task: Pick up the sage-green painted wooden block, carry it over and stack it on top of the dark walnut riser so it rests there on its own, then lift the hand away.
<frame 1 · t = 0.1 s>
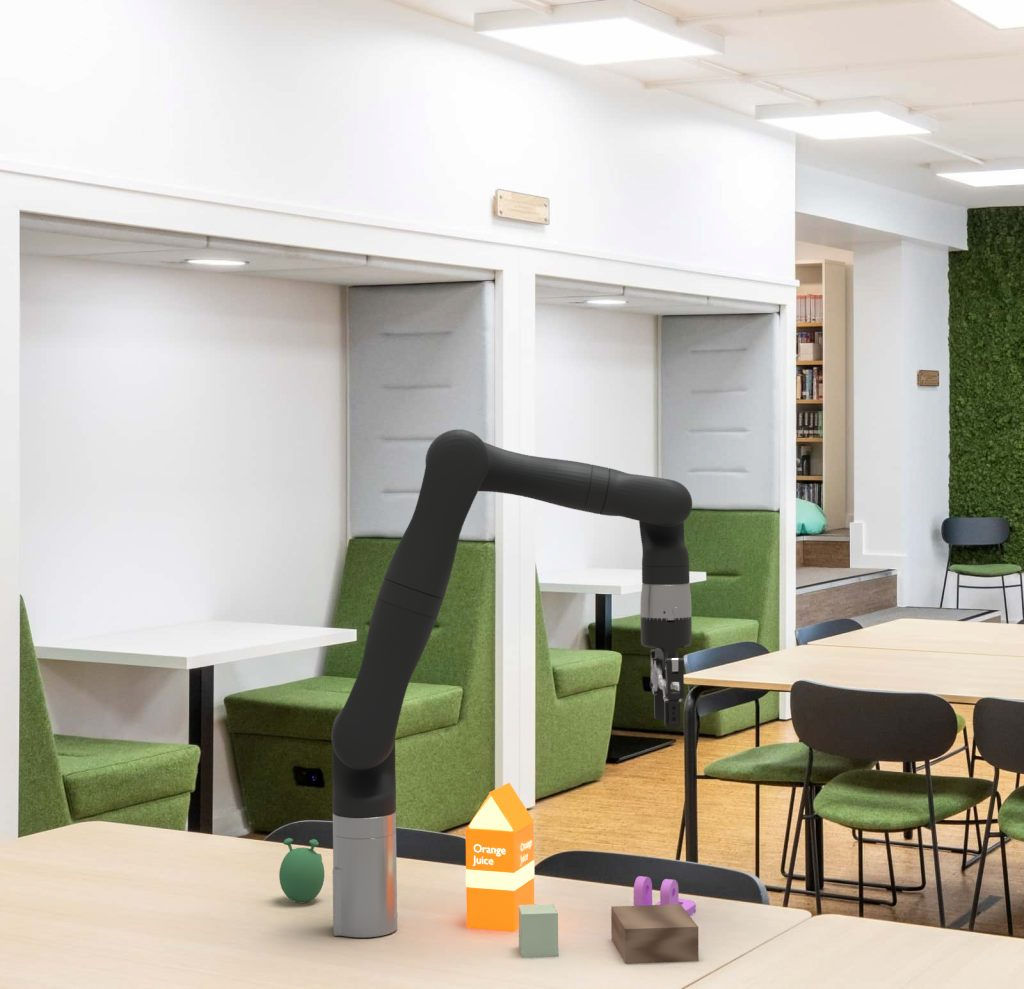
hand: (667, 723, 240), 29 cm above the table, tool pointing down, fingers open, 8 cm apart
orange juice: (501, 923, 240), on the table
walnut riser: (653, 952, 225), on the table
sage block: (538, 952, 225), on the table
bracket: (668, 919, 242), on the table
alien toy: (302, 902, 254), on the table
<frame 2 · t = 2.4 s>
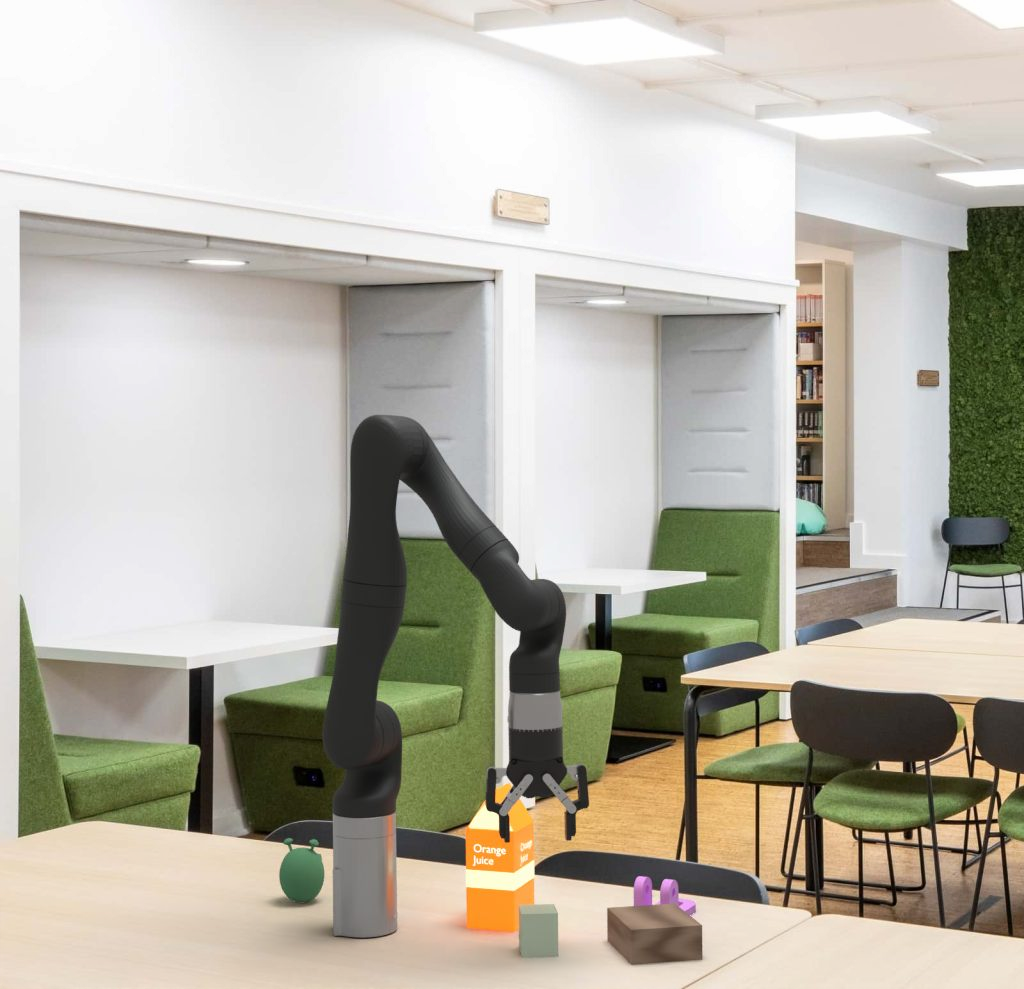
hand: (537, 840, 225), 15 cm above the table, tool pointing down, fingers open, 8 cm apart
nothing on the table moved.
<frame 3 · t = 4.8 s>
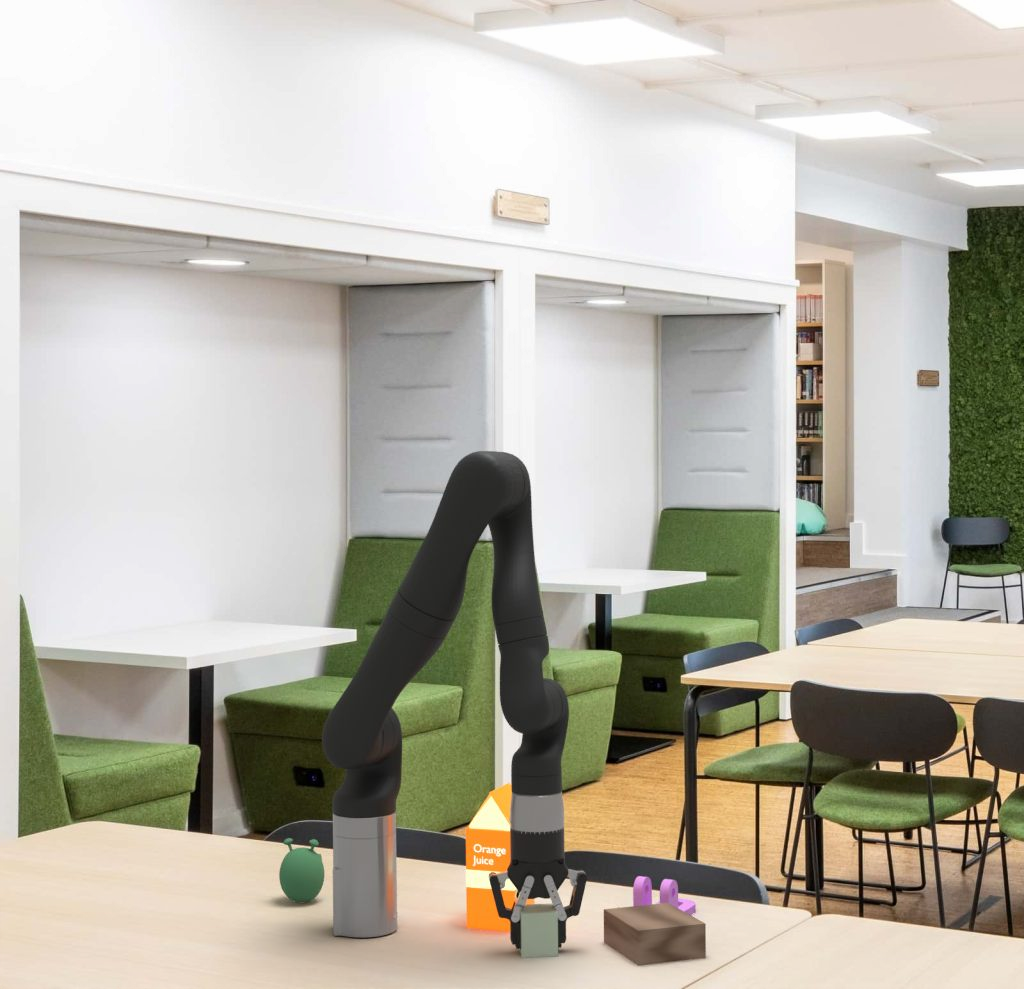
hand: (538, 946, 225), 1 cm above the table, tool pointing down, fingers closed on sage block, 5 cm apart
sage block: (538, 951, 225), on the table, touching gripper
everything else where it was.
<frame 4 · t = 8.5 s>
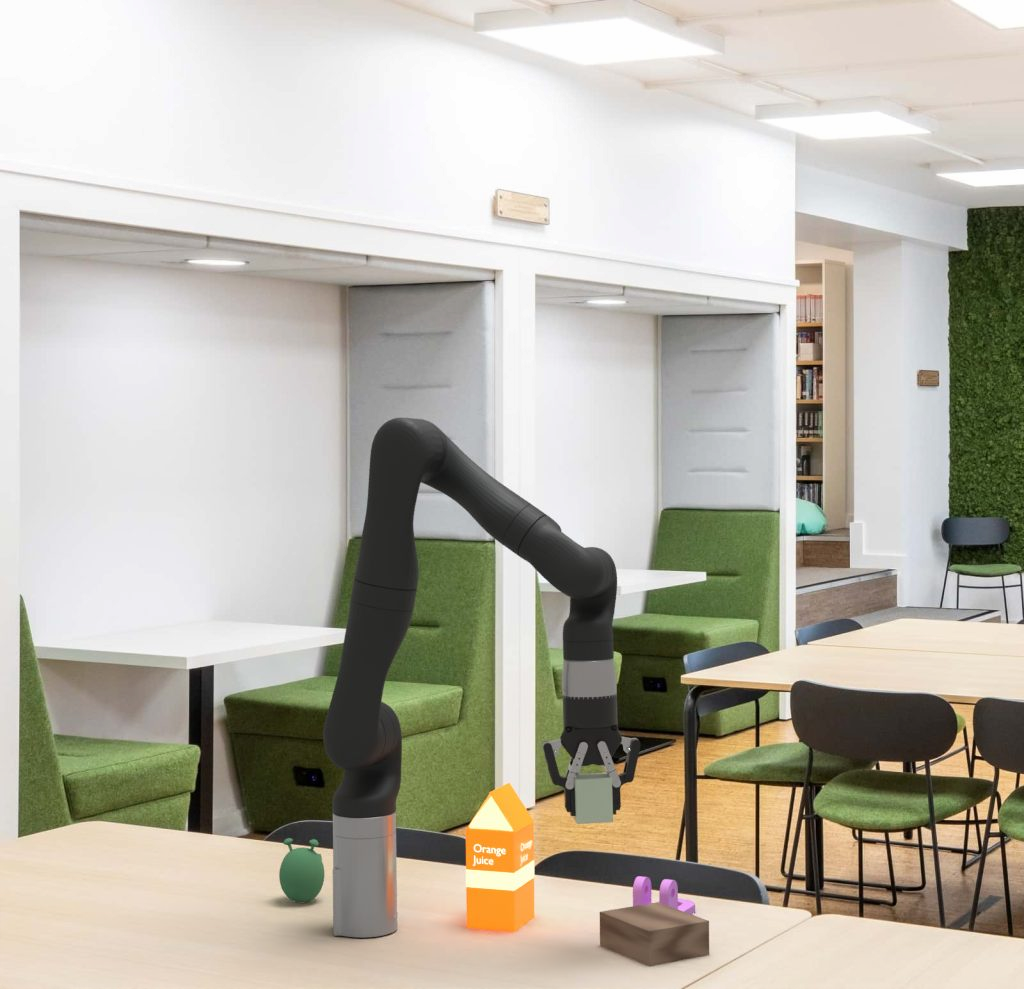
hand: (593, 813, 224), 19 cm above the table, tool pointing down, fingers closed on sage block, 5 cm apart
sage block: (592, 819, 224), point 18 cm above the table, touching gripper
when the fingers open (7 cm above the table, at t = 12.2 s): sage block drops 2 cm, point 5 cm above the table.
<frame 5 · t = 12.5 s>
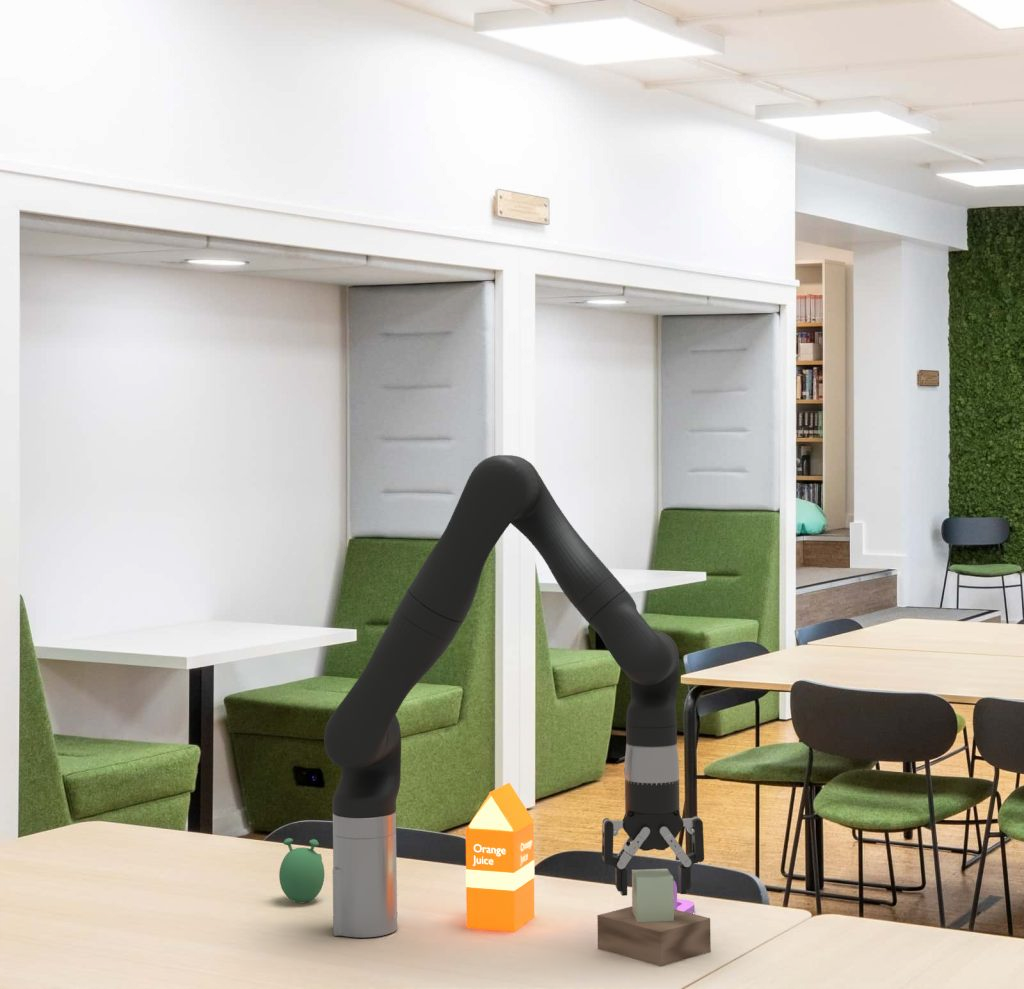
hand: (653, 893, 225), 8 cm above the table, tool pointing down, fingers open, 8 cm apart
sage block: (653, 916, 225), point 5 cm above the table
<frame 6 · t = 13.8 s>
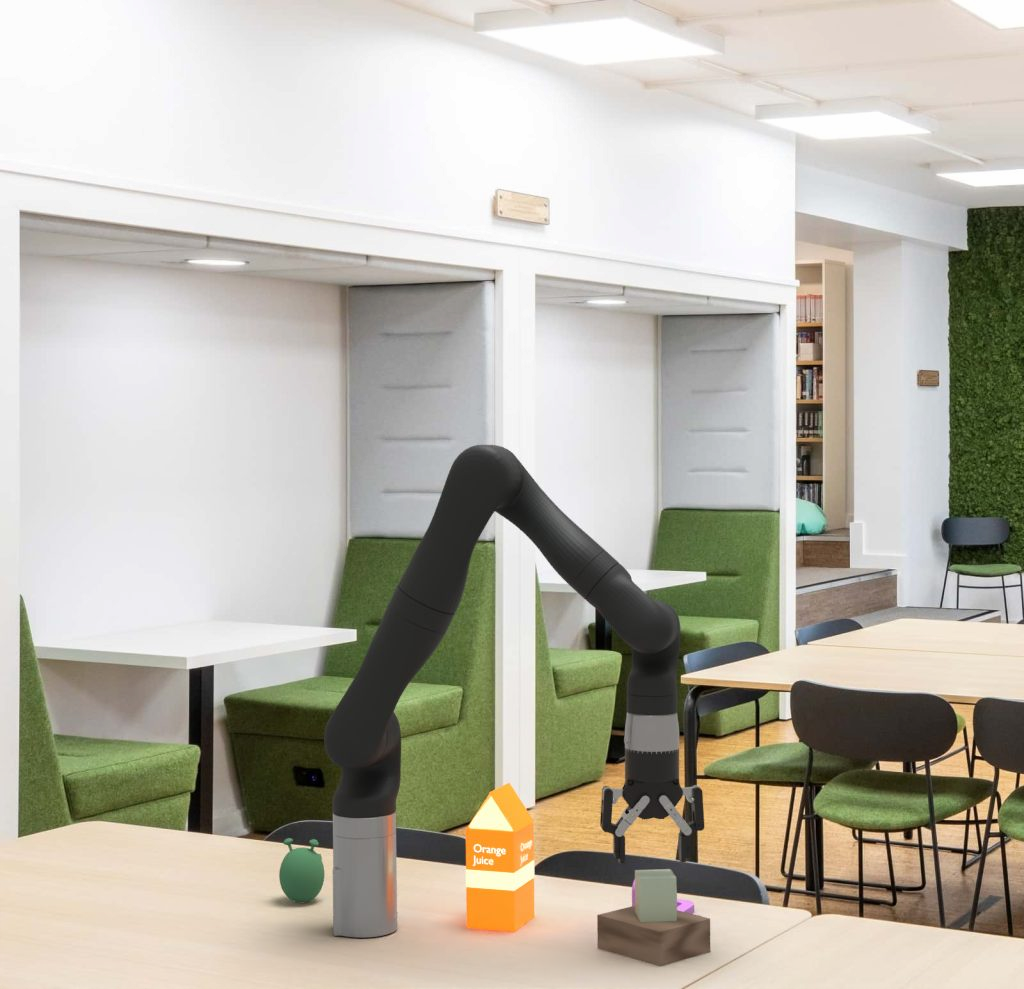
hand: (652, 861, 225), 12 cm above the table, tool pointing down, fingers open, 8 cm apart
nothing on the table moved.
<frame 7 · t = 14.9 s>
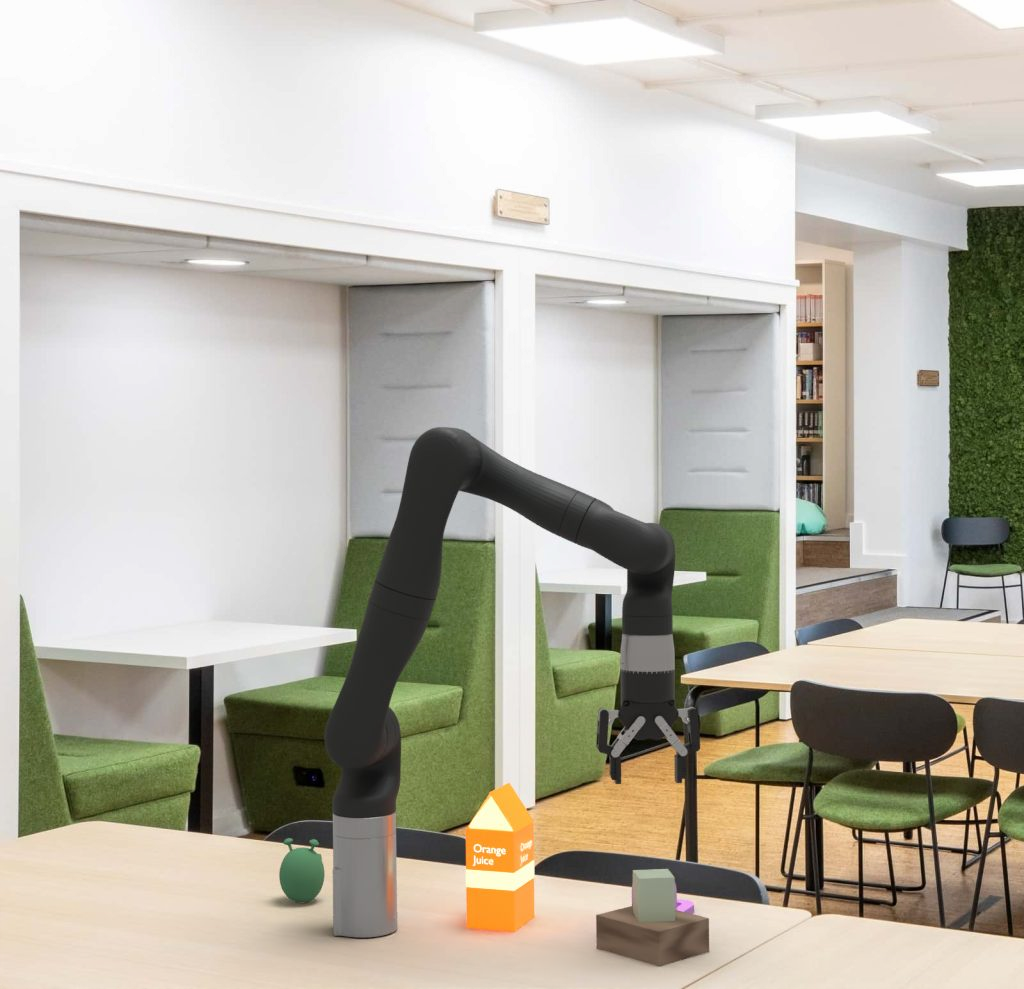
hand: (648, 782, 226), 23 cm above the table, tool pointing down, fingers open, 8 cm apart
walnut riser: (652, 952, 225), on the table, touching sage block
sage block: (654, 916, 225), point 5 cm above the table, touching walnut riser
everything else where it was.
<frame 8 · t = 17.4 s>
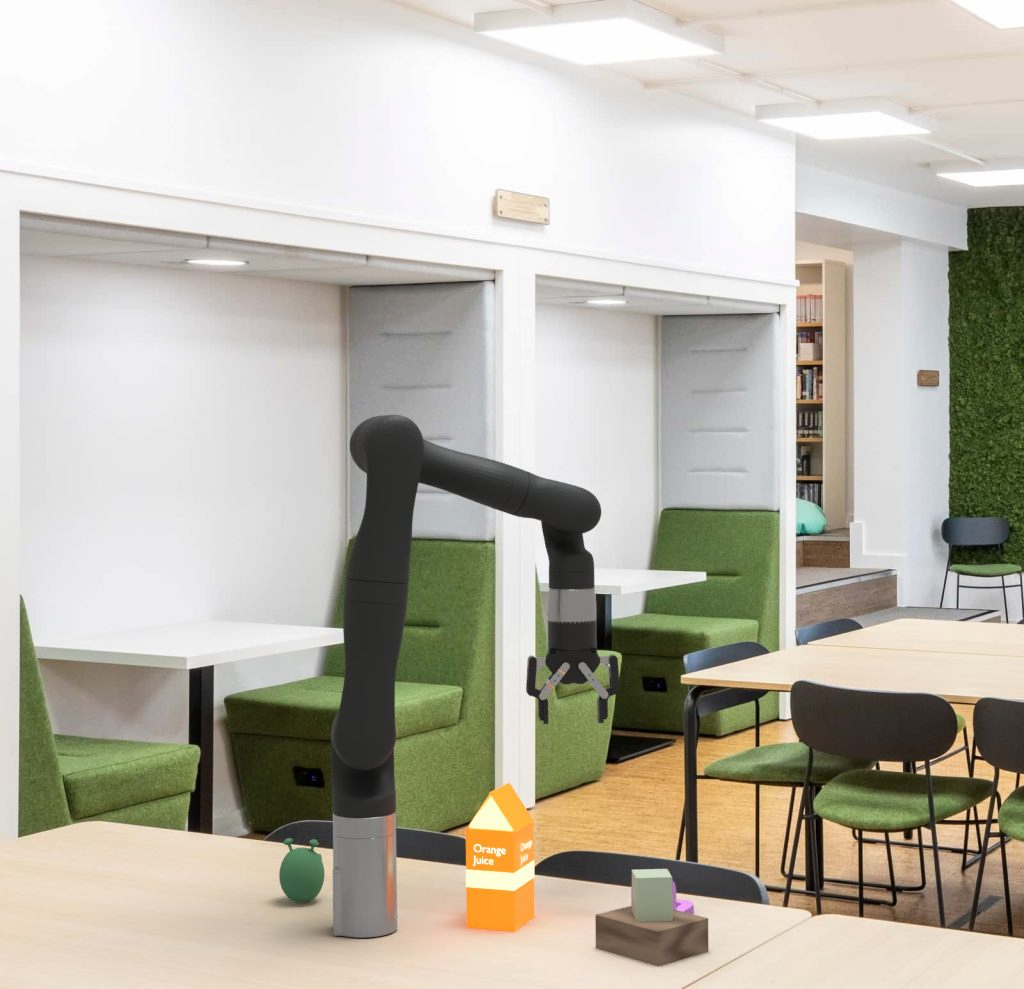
hand: (573, 723, 249), 28 cm above the table, tool pointing down, fingers open, 8 cm apart
nothing on the table moved.
at the end: sage block inside the target area on the walnut riser (0.2 cm from its centre), point 5.0 cm above the walnut riser's base; sage block tilted 0°; the gripper is holding nothing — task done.
